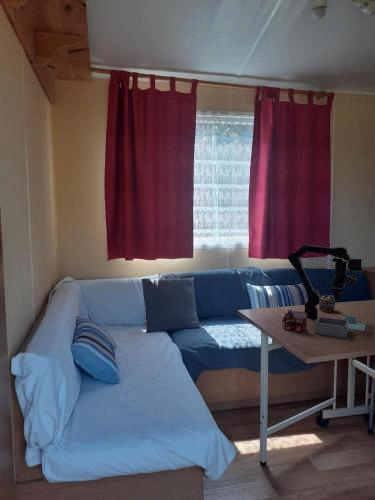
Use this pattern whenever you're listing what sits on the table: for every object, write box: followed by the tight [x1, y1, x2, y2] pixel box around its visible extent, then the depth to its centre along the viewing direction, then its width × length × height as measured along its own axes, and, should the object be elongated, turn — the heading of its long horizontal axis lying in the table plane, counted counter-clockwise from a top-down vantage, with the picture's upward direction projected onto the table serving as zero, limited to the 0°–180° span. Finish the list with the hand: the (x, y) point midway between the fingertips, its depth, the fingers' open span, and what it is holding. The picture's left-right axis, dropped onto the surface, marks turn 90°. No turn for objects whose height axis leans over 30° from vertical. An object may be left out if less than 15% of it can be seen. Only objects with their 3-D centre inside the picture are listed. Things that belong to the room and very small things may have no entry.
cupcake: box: [318, 293, 336, 313], centre depth 217 cm, size 10×10×10 cm
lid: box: [344, 314, 367, 332], centre depth 184 cm, size 14×12×5 cm
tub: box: [314, 316, 349, 339], centre depth 174 cm, size 14×12×6 cm
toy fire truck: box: [281, 309, 308, 333], centre depth 178 cm, size 7×12×10 cm, turn 56°
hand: (338, 298), depth 194 cm, fingers open, 9 cm apart
